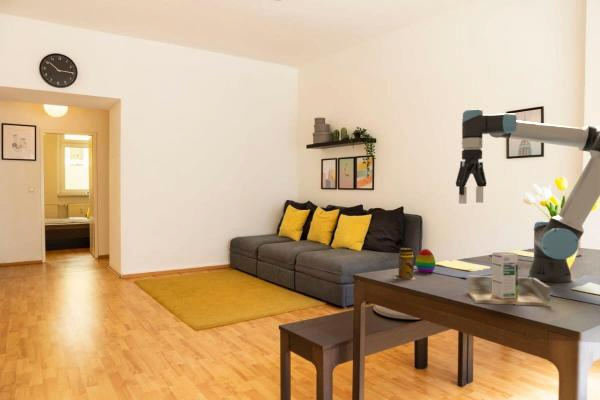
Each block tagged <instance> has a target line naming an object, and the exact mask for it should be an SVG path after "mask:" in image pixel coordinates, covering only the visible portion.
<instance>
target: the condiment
mask: <svg viewBox="0 0 600 400" xmlns="http://www.w3.org/2000/svg"><path fill="white" fill-rule="evenodd" d="M413 254H414V249H413V248H411V247H401V248H399V254H398V267H397V268H398V274H392V277H393V279H394V280H416V278H415V277H414V261H415V259H414V258H415V257H414V255H413Z"/></svg>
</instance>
